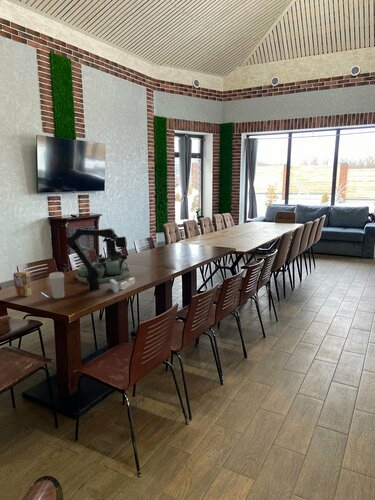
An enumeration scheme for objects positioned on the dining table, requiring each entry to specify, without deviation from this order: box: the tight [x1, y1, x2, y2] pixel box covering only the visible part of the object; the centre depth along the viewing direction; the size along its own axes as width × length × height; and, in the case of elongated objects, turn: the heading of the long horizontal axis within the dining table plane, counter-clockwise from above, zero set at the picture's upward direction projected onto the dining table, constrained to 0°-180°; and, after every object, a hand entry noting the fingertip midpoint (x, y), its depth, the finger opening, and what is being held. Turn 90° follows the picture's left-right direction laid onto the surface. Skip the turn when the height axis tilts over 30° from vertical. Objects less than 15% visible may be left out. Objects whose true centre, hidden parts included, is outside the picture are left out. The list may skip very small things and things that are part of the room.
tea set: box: [75, 250, 131, 284], centre depth 277 cm, size 40×40×16 cm
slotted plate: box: [109, 279, 119, 294], centre depth 240 cm, size 12×2×6 cm, turn 25°
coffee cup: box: [48, 271, 66, 299], centre depth 229 cm, size 10×10×15 cm
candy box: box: [12, 271, 33, 297], centre depth 234 cm, size 9×4×15 cm, turn 82°
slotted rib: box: [120, 277, 136, 291], centre depth 248 cm, size 16×2×4 cm, turn 160°
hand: (113, 271), depth 242 cm, fingers open, 9 cm apart
